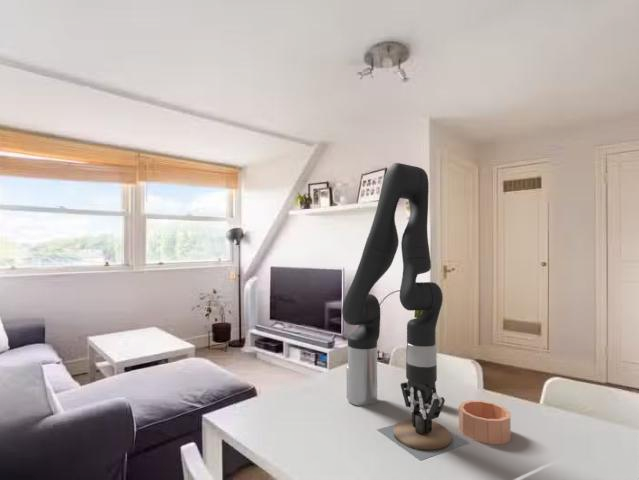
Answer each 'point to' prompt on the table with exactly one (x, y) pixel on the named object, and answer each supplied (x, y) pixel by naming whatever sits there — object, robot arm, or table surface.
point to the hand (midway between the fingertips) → (421, 429)
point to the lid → (422, 435)
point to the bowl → (485, 422)
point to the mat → (420, 454)
